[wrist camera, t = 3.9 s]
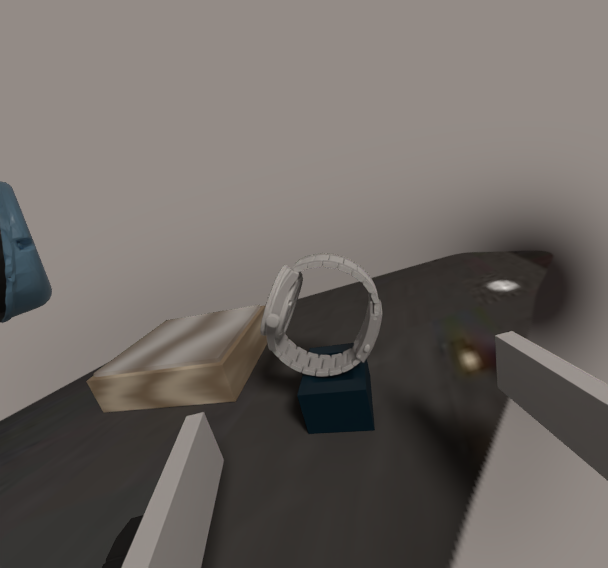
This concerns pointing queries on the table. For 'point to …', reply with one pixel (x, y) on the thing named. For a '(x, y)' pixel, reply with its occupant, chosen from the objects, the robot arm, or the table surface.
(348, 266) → the watch
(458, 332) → the table surface
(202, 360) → the plate
